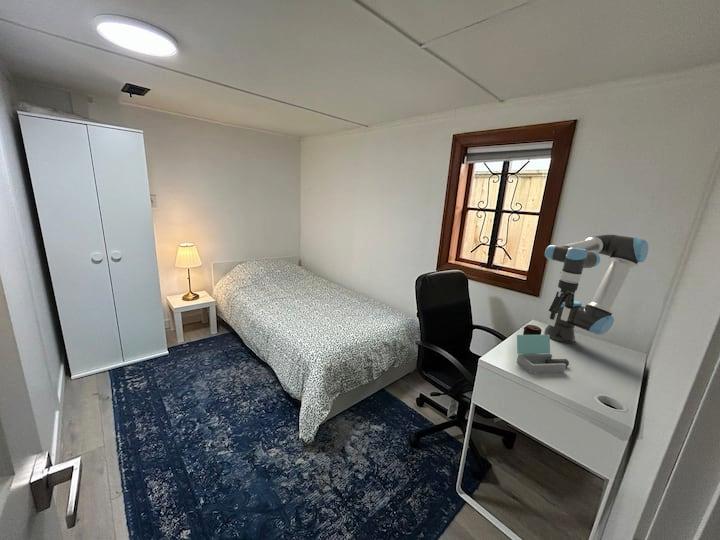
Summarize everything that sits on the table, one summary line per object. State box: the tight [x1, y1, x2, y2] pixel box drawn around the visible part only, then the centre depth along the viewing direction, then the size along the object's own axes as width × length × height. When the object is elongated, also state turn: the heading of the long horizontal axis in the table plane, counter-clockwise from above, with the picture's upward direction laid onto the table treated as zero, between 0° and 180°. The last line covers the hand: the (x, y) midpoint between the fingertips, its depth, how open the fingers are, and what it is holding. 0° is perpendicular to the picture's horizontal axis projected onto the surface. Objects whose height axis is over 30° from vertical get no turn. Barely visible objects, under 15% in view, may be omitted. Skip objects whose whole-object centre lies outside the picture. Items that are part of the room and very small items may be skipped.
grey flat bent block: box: [516, 353, 567, 374], centre depth 141 cm, size 18×9×4 cm, turn 100°
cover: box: [516, 334, 551, 355], centre depth 146 cm, size 18×9×1 cm
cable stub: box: [544, 358, 570, 367], centre depth 144 cm, size 10×3×3 cm, turn 100°
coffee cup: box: [522, 324, 543, 335], centre depth 155 cm, size 9×8×13 cm
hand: (557, 322), depth 143 cm, fingers open, 13 cm apart
